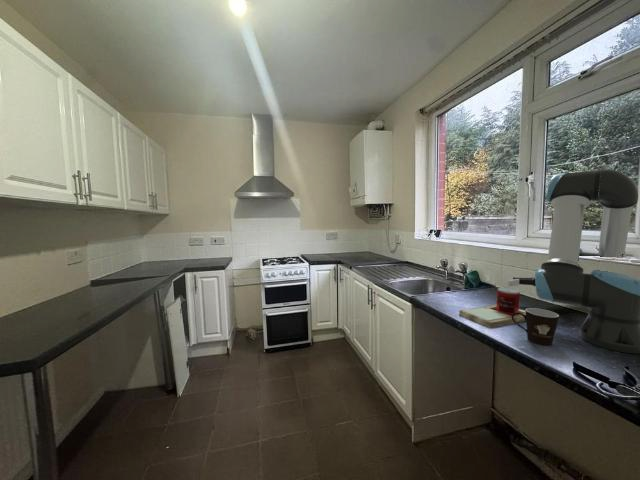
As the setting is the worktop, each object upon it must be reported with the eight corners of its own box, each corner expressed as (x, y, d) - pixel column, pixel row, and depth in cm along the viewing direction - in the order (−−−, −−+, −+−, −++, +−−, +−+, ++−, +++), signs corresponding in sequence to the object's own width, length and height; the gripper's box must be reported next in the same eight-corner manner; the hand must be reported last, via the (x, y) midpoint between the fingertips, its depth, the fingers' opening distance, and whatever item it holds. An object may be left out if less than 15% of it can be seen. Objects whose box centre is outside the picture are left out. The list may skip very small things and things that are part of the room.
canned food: (510, 312, 116) (512, 287, 115) (522, 319, 108) (524, 292, 107) (492, 311, 117) (493, 287, 116) (502, 318, 109) (504, 292, 108)
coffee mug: (560, 342, 88) (562, 313, 87) (551, 350, 83) (554, 319, 82) (518, 330, 97) (520, 304, 96) (509, 336, 93) (510, 308, 92)
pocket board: (535, 318, 109) (536, 313, 108) (490, 327, 100) (490, 322, 100) (502, 307, 122) (502, 303, 121) (459, 314, 113) (459, 309, 113)
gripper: (589, 298, 111) (557, 304, 104) (526, 283, 135) (496, 288, 128) (591, 280, 111) (558, 286, 103) (527, 269, 134) (497, 272, 127)
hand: (524, 287), depth 115 cm, fingers open, 13 cm apart
